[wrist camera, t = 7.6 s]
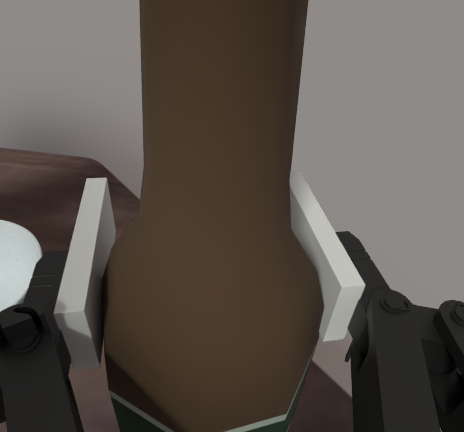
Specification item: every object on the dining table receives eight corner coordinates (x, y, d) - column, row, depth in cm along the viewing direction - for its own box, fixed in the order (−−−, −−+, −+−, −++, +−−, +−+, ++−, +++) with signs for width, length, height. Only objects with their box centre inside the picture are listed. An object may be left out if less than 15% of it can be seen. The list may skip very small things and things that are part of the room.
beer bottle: (184, 592, 16) (75, -523, 2) (105, 437, 21) (-110, -212, 6) (308, 465, 20) (602, -170, 6) (219, 359, 25) (252, -143, 10)
